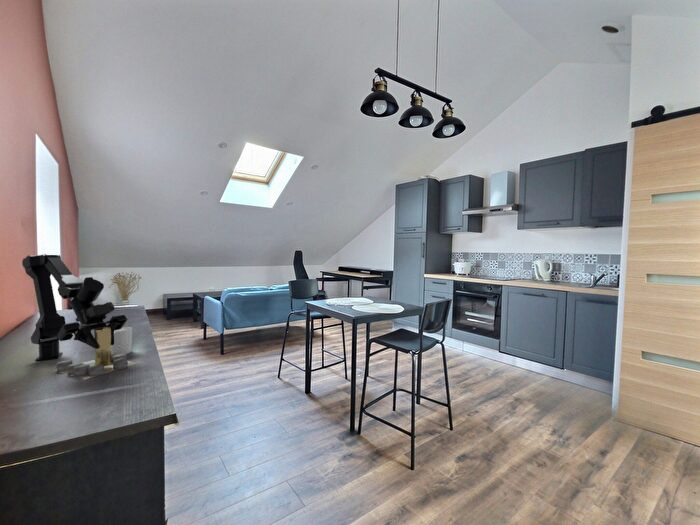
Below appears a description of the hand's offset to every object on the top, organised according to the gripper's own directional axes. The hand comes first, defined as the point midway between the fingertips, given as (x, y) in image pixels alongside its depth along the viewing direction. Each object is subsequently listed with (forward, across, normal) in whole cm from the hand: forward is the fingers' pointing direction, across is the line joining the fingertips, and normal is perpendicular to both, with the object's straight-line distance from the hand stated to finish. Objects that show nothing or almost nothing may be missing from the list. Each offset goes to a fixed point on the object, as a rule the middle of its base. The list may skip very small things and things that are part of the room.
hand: (105, 346), depth 109 cm
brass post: (+4, 0, +5) cm, 6 cm away
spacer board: (+2, 0, +10) cm, 10 cm away
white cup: (-4, +13, +16) cm, 21 cm away
